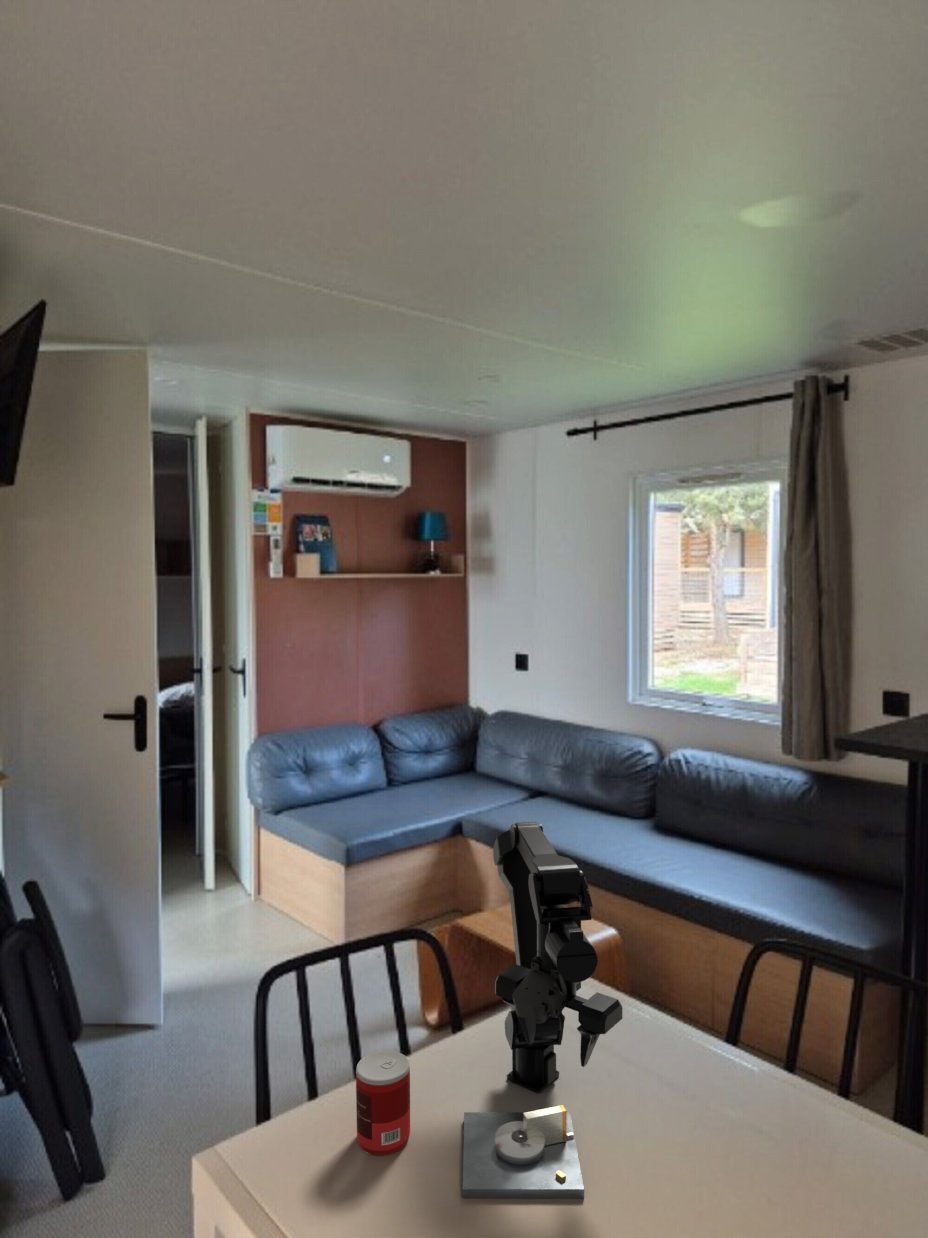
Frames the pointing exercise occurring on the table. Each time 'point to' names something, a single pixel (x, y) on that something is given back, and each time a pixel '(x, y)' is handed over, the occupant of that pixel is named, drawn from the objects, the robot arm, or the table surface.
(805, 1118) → the table surface
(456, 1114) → the table surface
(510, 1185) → the panel
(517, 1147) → the dial
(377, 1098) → the canned food
